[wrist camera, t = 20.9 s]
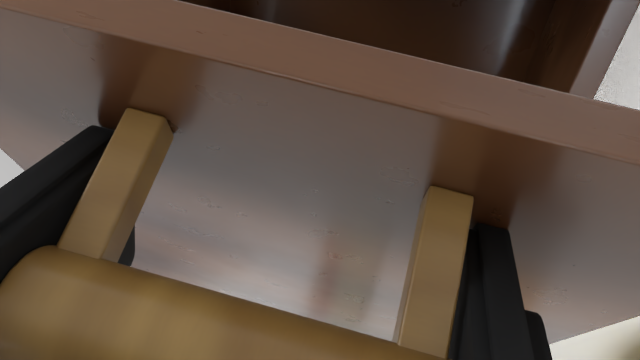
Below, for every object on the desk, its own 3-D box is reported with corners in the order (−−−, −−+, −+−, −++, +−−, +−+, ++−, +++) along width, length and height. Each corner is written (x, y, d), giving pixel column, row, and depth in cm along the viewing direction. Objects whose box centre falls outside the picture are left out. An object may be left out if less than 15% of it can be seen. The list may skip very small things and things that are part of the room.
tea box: (232, -168, 21) (149, -185, 15) (609, -90, 19) (678, -74, 14) (206, 184, 29) (148, 260, 24) (465, 253, 28) (470, 351, 22)
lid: (-182, -88, 8) (-499, 233, 5) (900, 169, 6) (1016, 709, 4) (146, 257, 23) (97, 373, 21) (472, 350, 22) (453, 482, 20)
